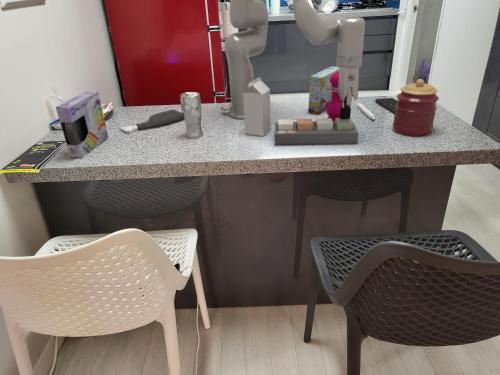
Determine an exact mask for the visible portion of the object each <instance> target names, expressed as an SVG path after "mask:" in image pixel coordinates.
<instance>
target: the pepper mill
mask: <svg viewBox="0 0 500 375" xmlns="http://www.w3.org/2000/svg"><path fill="white" fill-rule="evenodd" d="M339 70H340V68H338V69H337V72H336V73H334V74H332V75H331V77H330V83H331V84H332V86H331V91H332V98H331V101H330V103H329V104H328V107H327V110H325V112H326V114H327V115H328V116H327V118H331V119H332V121H335V119H336V118H340V106H341V97H340V95H339V93H338V83H339Z"/></svg>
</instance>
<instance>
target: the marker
mask: <svg viewBox="0 0 500 375" xmlns="http://www.w3.org/2000/svg"><path fill="white" fill-rule="evenodd" d="M356 107H357V109H358V110H359V111H360V112H362V113H363V114H364V116H366V117H367V118H368V119H369V120H371V121H375V119H376V116H375V115H374V114H373V113H372V112H371V111H370V110H369V109H368V108H367V107H366V106H365V105H363V104H362V103H361V102H359V103H357V105H356Z"/></svg>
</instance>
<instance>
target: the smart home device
mask: <svg viewBox="0 0 500 375" xmlns="http://www.w3.org/2000/svg"><path fill="white" fill-rule="evenodd" d="M374 102H375V103H376V104H377V105H379V106H380V107H381V108H384V109H385V110H386V111H388V112H389V111H390V112H389V113H391V114H392V113H393V114H392V115H394V116H395V110H396V104H397V103H398V99H396V98H394V97H387V98H386V97H385V98H376V99H375V101H374Z"/></svg>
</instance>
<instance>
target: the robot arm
mask: <svg viewBox="0 0 500 375" xmlns="http://www.w3.org/2000/svg"><path fill="white" fill-rule="evenodd" d="M292 10H293V15H294V20H295V23H296V24H297V26H298V28H299V29H300V31H301V33H302V34H303V37H305V38H306V40H307V41H308V42H309V43H311V44H312V45H314V46H323V45H326V44H330V43H335V42H337V47H336V48H337V52H336V66H335V67H338V68H340V70H339V83H338V93H339V95H340V97H341V106H340V119H341V120H345V119H350V118H351V113H352V101H353V99H354V100H355V101H357V100H358V98H359V97H358V96H359V84H360V83H359V81H360V80H359V78H360V76H359V75H360V72H359V70H360V69H359V68H361V67H362V63H363V50H364V40H365V31H366V29H365V28H366V21H365V19H364V18H363V17H358V16H355V17H352V16H351V17H350V16H349V17H343V16H339V15H331V16H324V17H321V15H320V13H319V12H318V11H317V9H316V8H315V6H314V4H313V1H312V0H292ZM229 22H230V25H231V27H232V28H234V29H238V30H239V29H240V30H242V29H243V30H242V31H238V32H233V33H231V34H229V35H228V36H227V37H226V39H225V41H224V53H225V56H226V60H227V66H228V75H229V76H228V77H229V78H228V79H229V90H230V103H228V104H220V111H221V110H223V111H224V112H225V111H228V112H227V114H228V117H230V118H232V119H238V120H245V118H244V100H243V93H244V92H245V91H246V90H247V89H248V86H247V85H248V84H250V83H251V82H252V81H254V80H255V79H254V67H253V65H252V62H251V61H250V58H251V57H255V56H258V55H260V54H262V53H263V52H264V50H265V48H266V45H267V37H268V25H269V9H268V7H267V5H266V2H264V0H229ZM244 29H246V30H244Z"/></svg>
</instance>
